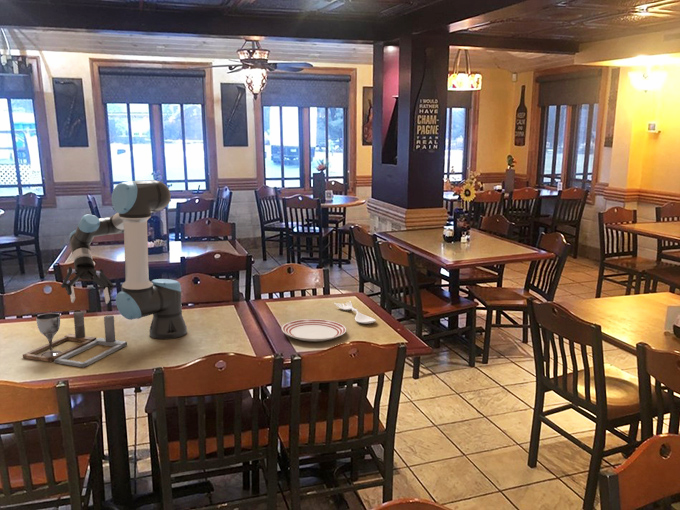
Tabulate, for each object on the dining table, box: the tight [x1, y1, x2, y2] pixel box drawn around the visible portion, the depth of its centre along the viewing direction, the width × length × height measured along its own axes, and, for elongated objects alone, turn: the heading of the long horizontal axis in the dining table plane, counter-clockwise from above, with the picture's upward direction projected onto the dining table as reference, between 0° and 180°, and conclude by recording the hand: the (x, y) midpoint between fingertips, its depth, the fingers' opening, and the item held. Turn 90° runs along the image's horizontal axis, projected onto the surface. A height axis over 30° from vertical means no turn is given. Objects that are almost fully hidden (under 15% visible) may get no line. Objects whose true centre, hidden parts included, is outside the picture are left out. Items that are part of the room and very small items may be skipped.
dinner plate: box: [281, 318, 347, 343], centre depth 247 cm, size 27×27×3 cm
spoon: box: [333, 300, 377, 325], centre depth 274 cm, size 9×32×4 cm, turn 23°
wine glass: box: [35, 312, 62, 357], centre depth 220 cm, size 8×8×15 cm
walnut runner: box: [22, 311, 97, 363], centre depth 225 cm, size 13×24×12 cm, turn 163°
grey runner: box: [53, 314, 128, 368], centre depth 221 cm, size 13×24×12 cm, turn 163°
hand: (91, 301), depth 235 cm, fingers open, 13 cm apart
